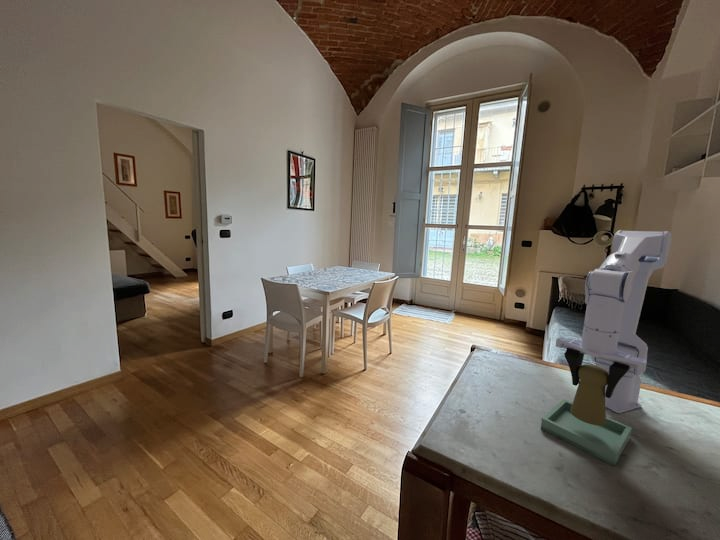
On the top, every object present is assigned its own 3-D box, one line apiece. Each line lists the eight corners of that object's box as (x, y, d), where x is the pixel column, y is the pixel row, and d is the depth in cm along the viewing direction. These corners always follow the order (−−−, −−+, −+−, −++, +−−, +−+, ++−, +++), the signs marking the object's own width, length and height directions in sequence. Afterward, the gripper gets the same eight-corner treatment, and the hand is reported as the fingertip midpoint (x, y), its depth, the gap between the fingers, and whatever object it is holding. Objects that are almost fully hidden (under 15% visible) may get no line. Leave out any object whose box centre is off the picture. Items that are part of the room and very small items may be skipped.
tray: (562, 408, 72) (563, 399, 72) (630, 438, 62) (632, 427, 62) (540, 428, 65) (542, 418, 64) (614, 466, 55) (616, 454, 54)
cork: (611, 420, 61) (619, 370, 60) (597, 428, 58) (604, 376, 57) (579, 405, 67) (585, 359, 65) (564, 412, 64) (570, 363, 62)
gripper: (553, 321, 63) (546, 380, 65) (646, 344, 52) (633, 414, 54) (565, 316, 68) (557, 371, 70) (653, 335, 56) (641, 401, 58)
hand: (591, 389), depth 62 cm, fingers closed on cork, 5 cm apart
